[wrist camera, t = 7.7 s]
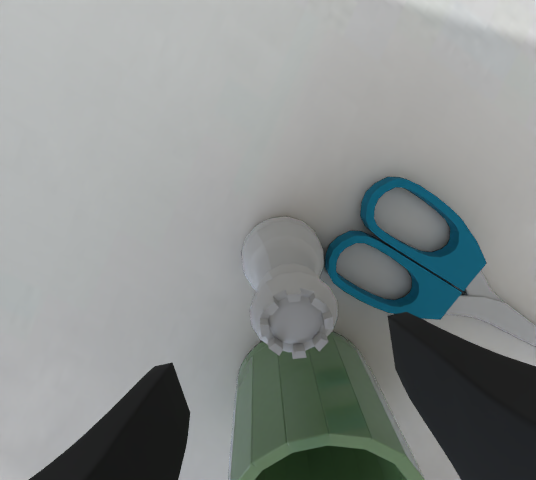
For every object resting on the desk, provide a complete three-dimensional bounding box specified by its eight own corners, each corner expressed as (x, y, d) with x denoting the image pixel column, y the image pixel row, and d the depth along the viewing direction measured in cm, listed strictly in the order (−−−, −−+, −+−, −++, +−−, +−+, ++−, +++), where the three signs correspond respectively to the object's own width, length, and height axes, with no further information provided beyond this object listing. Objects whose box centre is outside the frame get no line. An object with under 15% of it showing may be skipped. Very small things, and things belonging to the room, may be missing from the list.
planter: (377, 424, 23) (437, 565, 16) (254, 450, 24) (253, 602, 16) (358, 313, 21) (417, 414, 13) (221, 343, 21) (200, 460, 14)
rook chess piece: (224, 248, 20) (204, 320, 12) (287, 197, 19) (308, 238, 11) (275, 304, 21) (286, 403, 13) (337, 258, 20) (387, 333, 12)
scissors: (391, 166, 17) (653, 344, 21) (384, 164, 18) (637, 335, 22) (316, 275, 19) (573, 423, 23) (312, 268, 20) (560, 412, 23)
